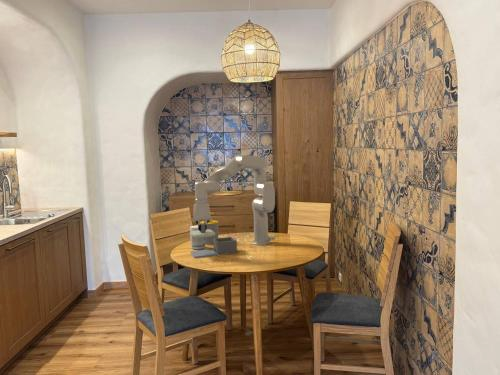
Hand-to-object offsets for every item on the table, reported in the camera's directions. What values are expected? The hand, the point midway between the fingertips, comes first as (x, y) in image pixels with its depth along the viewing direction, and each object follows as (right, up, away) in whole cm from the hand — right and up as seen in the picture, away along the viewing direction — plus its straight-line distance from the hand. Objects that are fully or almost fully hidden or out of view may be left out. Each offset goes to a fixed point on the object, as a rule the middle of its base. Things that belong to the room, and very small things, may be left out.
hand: (202, 230), depth 263 cm
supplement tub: (-5, -14, +19) cm, 24 cm away
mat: (+1, -15, +2) cm, 15 cm away
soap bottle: (+2, -12, +33) cm, 36 cm away
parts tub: (+14, -14, +6) cm, 21 cm away
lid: (0, -3, 0) cm, 3 cm away
